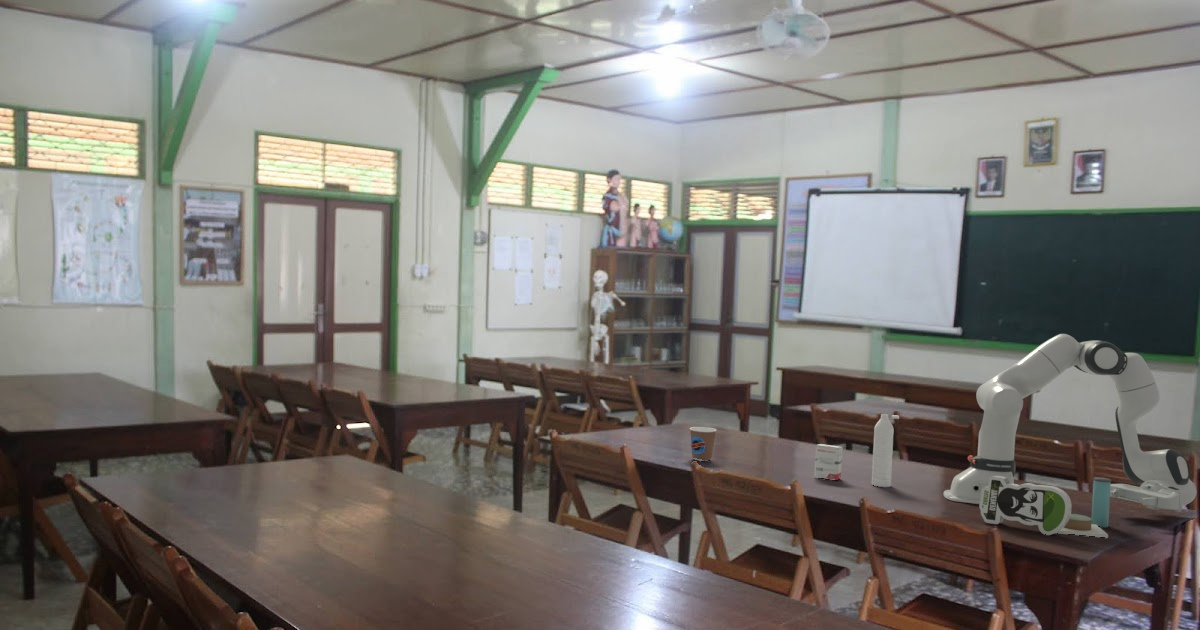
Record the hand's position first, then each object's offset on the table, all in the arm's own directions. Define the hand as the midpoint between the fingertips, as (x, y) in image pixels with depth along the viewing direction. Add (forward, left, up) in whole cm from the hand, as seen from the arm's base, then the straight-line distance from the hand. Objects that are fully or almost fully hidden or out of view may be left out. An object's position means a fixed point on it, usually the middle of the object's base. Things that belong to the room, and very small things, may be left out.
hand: (1126, 497), depth 287 cm
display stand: (-18, -18, -8) cm, 26 cm away
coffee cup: (-135, +45, -8) cm, 143 cm away
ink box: (-88, +29, -8) cm, 93 cm away
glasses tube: (-9, -8, -8) cm, 14 cm away
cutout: (-33, -22, -8) cm, 40 cm away
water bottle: (-69, +24, -8) cm, 74 cm away
